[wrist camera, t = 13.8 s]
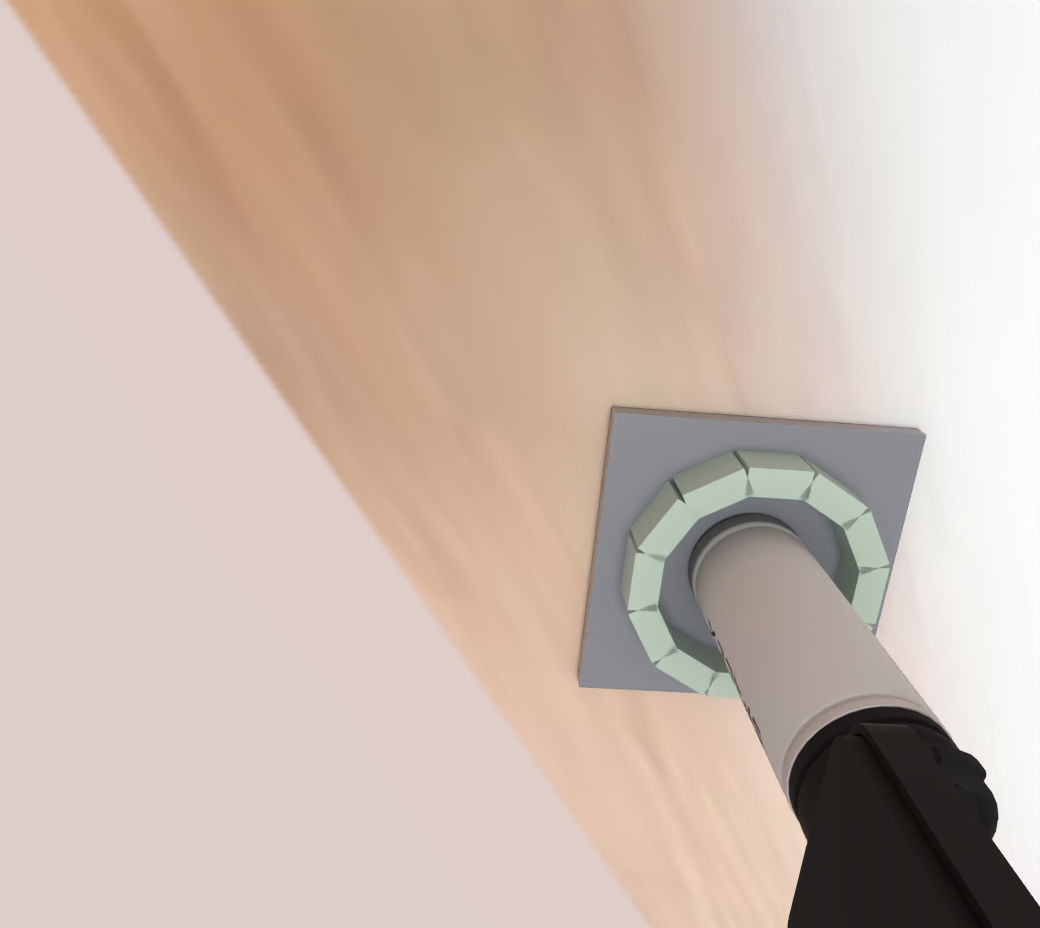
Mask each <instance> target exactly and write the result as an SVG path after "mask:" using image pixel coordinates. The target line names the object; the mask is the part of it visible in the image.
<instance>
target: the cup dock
mask: <svg viewBox="0 0 1040 928" xmlns="http://www.w3.org/2000/svg"><path fill="white" fill-rule="evenodd" d="M925 438H926V434H924V433H923V432H921V431H920V430H919V429H915V428H901V427H887V426H873V425H859V424H845V423H831V422H817V421H803V420H789V419H775V418H762V417H748V416H734V415H720V414H706V413H692V412H678V411H664V410H650V409H636V408H622V407H612V411H611V418H610V426H609V434H608V442H607V450H606V458H605V465H604V473H603V481H602V489H601V497H600V505H599V513H598V520H597V528H596V536H595V544H594V552H593V560H592V568H591V575H590V583H589V591H588V599H587V607H586V615H585V622H584V630H583V638H582V646H581V654H580V662H579V670H578V682H579V687H587V688H607V689H626V690H646V691H666V692H686V693H700V694H702V695H703V694H704V693H706V695H707V696H709V697H729V698H740V696H739V693H738V691H737V689H736V687H735V685H734V682H733V680H732V678H731V676H730V674H729V671H728V669H727V667H726V665H725V663H724V660H723V658H722V656H721V654H720V652H719V649H718V647H717V645H716V643H715V641H714V638H713V636H712V634H711V632H710V630H709V627H708V625H707V623H706V621H705V619H704V616H703V614H702V612H701V610H700V608H699V605H698V603H697V601H696V599H695V597H694V594H693V592H692V590H691V586H690V583H689V574H688V569H689V563H690V559H691V556H692V553H693V551H694V549H695V547H696V546H697V544H698V543H699V541H700V540H701V539H702V537H703V536H704V535H705V534H706V533H707V532H708V531H709V530H711V529H712V528H713V527H715V526H716V525H717V524H719V523H721V522H723V521H725V520H727V519H730V518H733V517H737V516H740V515H748V514H758V515H766V516H770V517H774V518H776V519H778V520H780V521H782V522H784V523H785V524H787V525H788V526H789V527H790V528H792V529H793V531H794V532H795V533H796V534H797V535H798V537H799V538H800V539H801V541H802V542H803V543H804V545H805V546H806V547H807V549H808V550H809V551H810V552H811V554H812V555H813V556H814V558H815V559H816V560H817V561H818V563H819V564H820V565H821V567H822V568H823V569H824V571H825V572H826V573H827V575H828V576H829V577H830V578H831V580H832V581H833V582H834V584H835V585H836V586H837V588H838V589H839V590H840V592H841V593H842V594H843V595H844V597H845V598H846V599H847V601H848V602H849V603H850V605H851V606H852V607H853V608H854V610H855V611H856V612H857V614H858V615H859V616H860V618H861V619H862V620H863V622H864V623H865V624H866V625H867V627H868V628H869V629H870V631H871V632H872V633H873V635H874V636H875V635H876V631H877V627H878V623H879V619H880V615H881V611H882V607H883V603H884V599H885V595H886V591H887V587H888V584H889V580H890V576H891V572H892V568H893V564H894V560H895V556H896V552H897V548H898V544H899V540H900V536H901V532H902V529H903V525H904V521H905V517H906V513H907V509H908V505H909V501H910V497H911V493H912V489H913V485H914V481H915V477H916V474H917V470H918V466H919V462H920V458H921V454H922V450H923V446H924V442H925Z"/></svg>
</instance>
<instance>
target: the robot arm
mask: <svg viewBox="0 0 1040 928" xmlns="http://www.w3.org/2000/svg"><path fill="white" fill-rule="evenodd" d="M788 928H1040V906H1039V905H1038V903H1037V902H1036V901H1035V899H1034V898H1033V896H1032V895H1031V894H1030V892H1029V891H1028V889H1027V888H1026V887H1025V885H1024V884H1023V882H1022V881H1021V880H1020V878H1019V877H1018V875H1017V874H1016V873H1015V871H1014V870H1013V868H1012V867H1011V866H1010V864H1009V863H1008V861H1007V860H1006V858H1005V857H1004V856H1003V854H1002V853H1001V851H1000V850H999V849H998V847H997V846H996V844H995V843H994V842H993V840H992V839H991V837H990V836H989V835H988V833H987V832H986V830H985V829H984V828H983V826H982V825H981V823H980V822H979V821H978V819H977V818H976V816H975V815H974V814H973V812H972V811H971V809H970V808H969V807H968V805H967V804H966V802H965V801H964V799H963V798H962V797H961V795H960V794H959V792H958V791H957V790H956V788H955V787H954V785H953V784H952V783H951V781H950V780H949V778H948V777H947V776H946V774H945V773H944V771H943V770H942V769H941V767H940V766H939V764H938V763H937V762H936V760H935V759H934V757H933V756H932V755H931V753H930V752H929V750H928V749H927V748H926V746H925V745H924V743H923V742H922V740H921V739H920V738H919V736H918V735H917V733H916V732H915V731H914V730H913V729H912V728H911V727H909V726H906V725H894V724H873V723H856V724H853V725H852V726H851V728H850V729H849V730H848V733H847V736H841V735H840V736H837V737H836V738H835V739H834V740H833V743H832V746H831V749H830V753H829V757H828V761H827V765H826V769H825V773H824V777H823V781H822V785H821V789H820V793H819V797H818V801H817V805H816V809H815V813H814V818H813V822H812V826H811V830H810V834H809V838H808V842H807V846H806V850H805V854H804V858H803V862H802V866H801V870H800V874H799V878H798V882H797V886H796V890H795V894H794V898H793V902H792V907H791V911H790V915H789V919H788Z"/></svg>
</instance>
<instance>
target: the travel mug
mask: <svg viewBox="0 0 1040 928" xmlns="http://www.w3.org/2000/svg"><path fill="white" fill-rule="evenodd" d="M688 574H689V583H690V586H691V590H692V592H693V594H694V597H695V599H696V601H697V603H698V605H699V608H700V610H701V612H702V614H703V616H704V619H705V621H706V623H707V625H708V627H709V630H710V632H711V634H712V636H713V638H714V641H715V643H716V645H717V647H718V649H719V652H720V654H721V656H722V658H723V660H724V663H725V665H726V667H727V669H728V671H729V674H730V676H731V678H732V680H733V682H734V685H735V687H736V689H737V691H738V693H739V696H740V698H741V700H742V702H743V704H744V707H745V709H746V711H747V713H748V715H749V718H750V720H751V722H752V724H753V726H754V729H755V731H756V733H757V735H758V737H759V740H760V742H761V744H762V746H763V748H764V751H765V753H766V755H767V757H768V759H769V762H770V764H771V766H772V768H773V770H774V773H775V775H776V777H777V779H778V781H779V784H780V786H781V788H782V790H783V792H784V794H785V796H786V798H787V801H788V803H789V806H790V808H791V809H792V811H793V813H794V815H795V817H796V818H797V820H798V821H799V823H800V825H801V828H802V830H803V833H804V835H805V837H806V839H807V841H808V838H809V834H810V830H811V826H812V822H813V818H814V813H815V809H816V805H817V801H818V797H819V793H820V789H821V785H822V781H823V777H824V773H825V769H826V765H827V761H828V757H829V753H830V749H831V746H832V743H833V740H834V739H835V738H836V737H837V736H840V735H841V736H847V733H848V730H849V729H850V728H851V726H852V725H853V724H856V723H873V724H894V725H906V726H909V727H911V728H912V729H913V730H914V731H915V732H916V733H917V735H918V736H919V738H920V739H921V740H922V742H923V743H924V745H925V746H926V748H927V749H928V750H929V752H930V753H931V755H932V756H933V757H934V759H935V760H936V762H937V763H938V764H939V766H940V767H941V769H942V770H943V771H944V773H945V774H946V776H947V777H948V778H949V780H950V781H951V783H952V784H953V785H954V787H955V788H956V790H957V791H958V792H959V794H960V795H961V797H962V798H963V799H964V801H965V802H966V804H967V805H968V807H969V808H970V809H971V811H972V812H973V814H974V815H975V816H976V818H977V819H978V821H979V822H980V823H981V825H982V826H983V828H984V829H985V830H986V832H987V833H988V835H989V836H990V837H991V839H992V838H993V836H994V834H995V832H996V828H997V822H998V808H997V803H996V800H995V798H994V796H993V793H992V792H991V790H990V789H989V788H988V786H987V785H986V784H985V783H984V779H985V778H986V771H985V769H984V768H983V767H982V765H981V764H980V763H979V761H978V760H977V759H976V758H975V757H973V756H972V755H971V754H968V753H966V752H963V751H960V750H959V749H958V747H957V746H956V744H955V743H954V742H953V740H952V738H951V735H950V734H949V733H948V731H947V730H946V729H945V727H944V726H943V725H942V724H941V722H940V721H939V719H938V718H937V717H936V716H935V714H934V713H933V712H932V710H931V709H930V708H929V706H928V705H927V704H926V702H925V701H924V700H923V699H922V697H921V696H920V695H919V693H918V692H917V691H916V689H915V688H914V687H913V686H912V684H911V683H910V682H909V680H908V679H907V678H906V676H905V675H904V674H903V672H902V671H901V670H900V669H899V667H898V666H897V665H896V663H895V662H894V661H893V659H892V658H891V657H890V655H889V654H888V653H887V652H886V650H885V649H884V648H883V646H882V645H881V644H880V642H879V641H878V640H877V639H876V637H875V636H874V635H873V633H872V632H871V631H870V629H869V628H868V627H867V625H866V624H865V623H864V622H863V620H862V619H861V618H860V616H859V615H858V614H857V612H856V611H855V610H854V608H853V607H852V606H851V605H850V603H849V602H848V601H847V599H846V598H845V597H844V595H843V594H842V593H841V592H840V590H839V589H838V588H837V586H836V585H835V584H834V582H833V581H832V580H831V578H830V577H829V576H828V575H827V573H826V572H825V571H824V569H823V568H822V567H821V565H820V564H819V563H818V561H817V560H816V559H815V558H814V556H813V555H812V554H811V552H810V551H809V550H808V549H807V547H806V546H805V545H804V543H803V542H802V541H801V539H800V538H799V537H798V535H797V534H796V533H795V532H794V531H793V529H792V528H790V527H789V526H788V525H787V524H785V523H784V522H782V521H780V520H778V519H776V518H774V517H770V516H766V515H758V514H748V515H740V516H737V517H733V518H730V519H727V520H725V521H723V522H721V523H719V524H717V525H716V526H715V527H713V528H712V529H711V530H709V531H708V532H707V533H706V534H705V535H704V536H703V537H702V539H701V540H700V541H699V543H698V544H697V546H696V547H695V549H694V551H693V553H692V556H691V559H690V563H689V569H688Z"/></svg>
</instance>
